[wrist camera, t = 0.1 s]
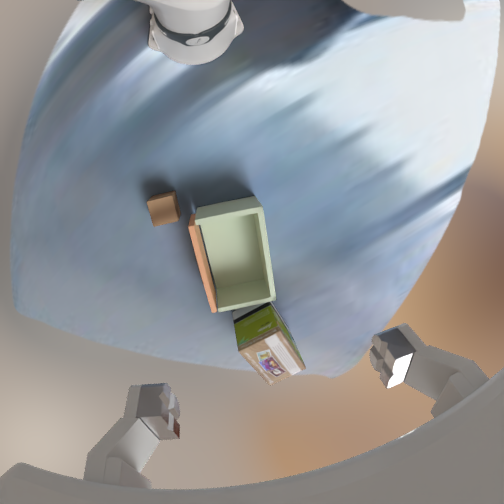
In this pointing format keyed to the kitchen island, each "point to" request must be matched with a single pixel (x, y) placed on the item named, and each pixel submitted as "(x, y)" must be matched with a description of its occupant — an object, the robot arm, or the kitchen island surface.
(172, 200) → the walnut block
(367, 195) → the kitchen island surface
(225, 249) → the box
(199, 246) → the board
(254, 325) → the tea box
